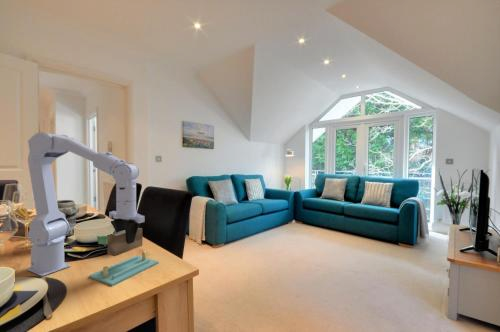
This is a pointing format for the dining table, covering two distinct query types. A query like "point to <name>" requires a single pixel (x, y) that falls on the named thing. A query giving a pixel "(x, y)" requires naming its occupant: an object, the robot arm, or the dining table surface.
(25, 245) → the dining table surface
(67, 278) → the dining table surface
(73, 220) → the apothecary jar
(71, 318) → the dining table surface
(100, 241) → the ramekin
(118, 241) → the walnut frame
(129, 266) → the light blue peg board
